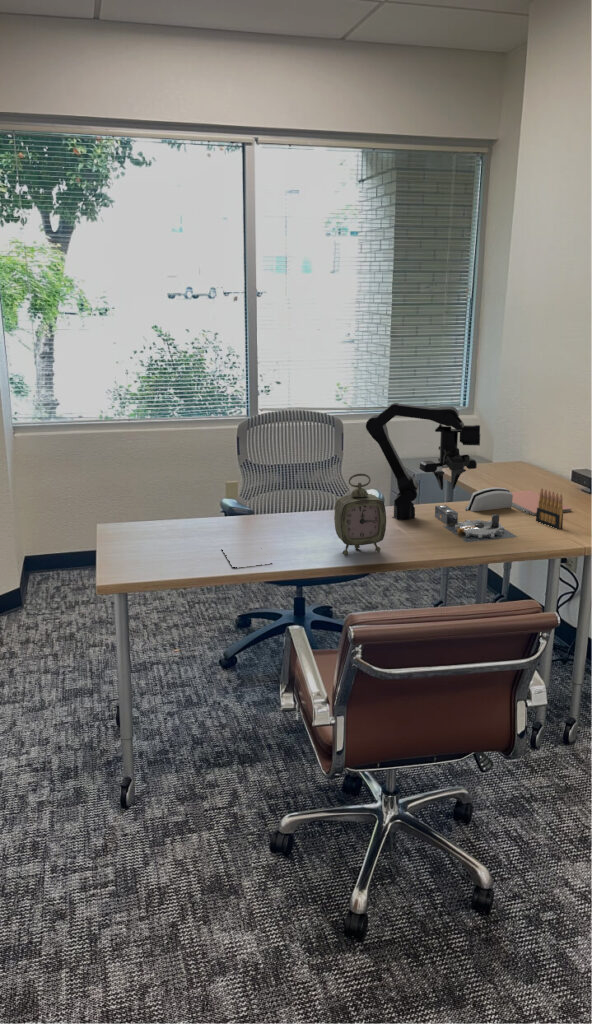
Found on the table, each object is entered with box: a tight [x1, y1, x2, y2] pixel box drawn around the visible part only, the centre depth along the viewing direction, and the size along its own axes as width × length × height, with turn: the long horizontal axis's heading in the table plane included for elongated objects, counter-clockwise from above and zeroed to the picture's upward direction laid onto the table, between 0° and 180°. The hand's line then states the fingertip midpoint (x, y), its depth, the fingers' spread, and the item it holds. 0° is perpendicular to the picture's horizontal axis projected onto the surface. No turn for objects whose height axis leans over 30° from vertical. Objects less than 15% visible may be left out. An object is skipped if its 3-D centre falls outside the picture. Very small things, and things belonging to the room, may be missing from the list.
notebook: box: [510, 489, 573, 516], centre depth 282 cm, size 27×17×2 cm, turn 16°
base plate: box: [442, 524, 518, 543], centre depth 249 cm, size 18×18×1 cm
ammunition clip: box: [535, 488, 564, 530], centre depth 255 cm, size 11×2×12 cm, turn 26°
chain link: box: [434, 504, 459, 526], centre depth 262 cm, size 4×10×5 cm, turn 13°
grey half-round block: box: [464, 486, 513, 512], centre depth 274 cm, size 17×5×10 cm, turn 107°
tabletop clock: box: [333, 473, 387, 556], centre depth 233 cm, size 14×9×25 cm, turn 103°
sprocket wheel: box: [454, 513, 505, 538], centre depth 248 cm, size 16×16×6 cm
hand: (447, 489), depth 259 cm, fingers open, 4 cm apart
